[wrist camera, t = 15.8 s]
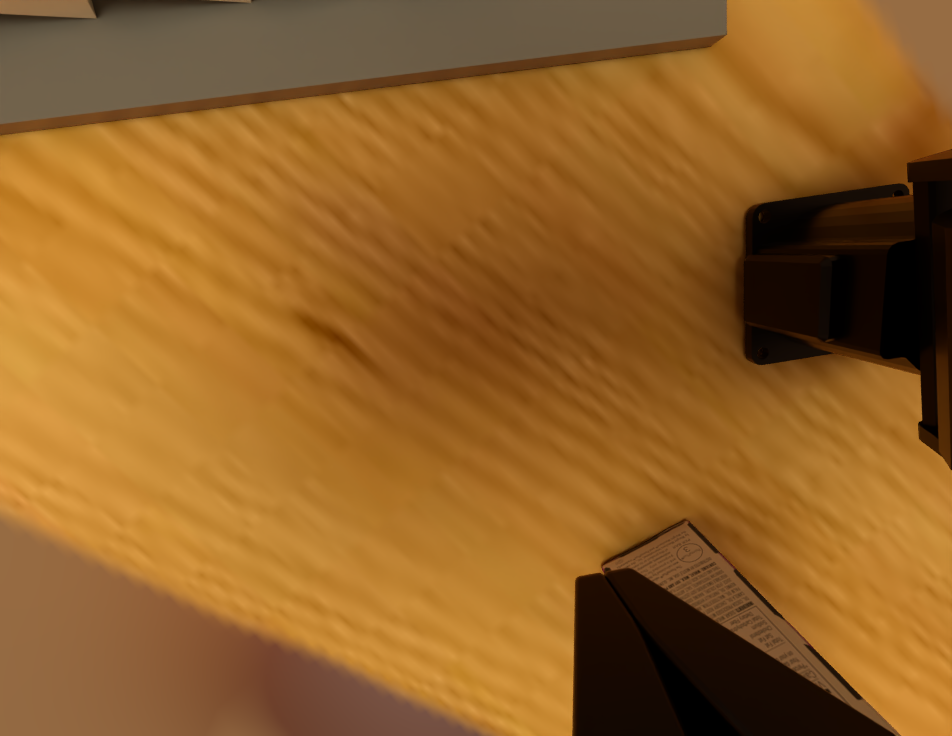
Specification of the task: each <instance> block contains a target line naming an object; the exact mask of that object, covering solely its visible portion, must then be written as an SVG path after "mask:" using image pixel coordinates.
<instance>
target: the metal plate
mask: <svg viewBox="0 0 952 736" xmlns="http://www.w3.org/2000/svg"><path fill="white" fill-rule="evenodd" d="M92 4H93V7H94V11H95V14H96V17H97V19H94V18H74V17H54V16H34V15H14V14H0V135H3V134H11V133H19V132H27V131H35V130H43V129H51V128H59V127H67V126H75V125H83V124H91V123H99V122H107V121H116V120H124V119H132V118H140V117H148V116H156V115H164V114H172V113H180V112H188V111H196V110H204V109H212V108H220V107H228V106H236V105H244V104H252V103H260V102H268V101H276V100H284V99H292V98H300V97H308V96H316V95H324V94H332V93H340V92H348V91H356V90H364V89H372V88H381V87H389V86H397V85H405V84H413V83H421V82H429V81H437V80H445V79H453V78H461V77H469V76H477V75H485V74H493V73H501V72H509V71H517V70H525V69H533V68H541V67H549V66H557V65H565V64H573V63H581V62H589V61H597V60H605V59H613V58H621V57H629V56H638V55H646V54H654V53H662V52H670V51H678V50H686V49H694V48H702V47H710V46H712V45H713V44H714V43H716V42H717V41H719V40H720V39H721V38H723V37H724V36H725V35H727V0H251V3H245V2H229V1H213V0H92Z"/></svg>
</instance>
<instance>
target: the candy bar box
mask: <svg viewBox="0 0 952 736" xmlns="http://www.w3.org/2000/svg"><path fill="white" fill-rule="evenodd" d="M621 568H632V569H634V570H636V571H637V572H639V573H640V574H642V575H644V576H645V577H647V578H648V579H650V580H652V581H653V582H655V583H656V584H658V585H660V586H661V587H663V588H664V589H666V590H667V591H669V592H671V593H672V594H674V595H675V596H677V597H679V598H680V599H682V600H683V601H685V602H686V603H688V604H690V605H691V606H693V607H694V608H696V609H698V610H699V611H701V612H702V613H704V614H705V615H707V616H709V617H710V618H712V619H713V620H715V621H717V622H718V623H720V624H721V625H723V626H724V627H726V628H728V629H729V630H731V631H732V632H734V633H736V634H737V635H739V636H740V637H742V638H744V639H745V640H747V641H748V642H750V643H751V644H753V645H755V646H756V647H758V648H759V649H761V650H763V651H764V652H766V653H767V654H769V655H770V656H772V657H774V658H775V659H777V660H778V661H780V662H782V663H783V664H785V665H786V666H788V667H789V668H791V669H793V670H794V671H796V672H797V673H799V674H801V675H802V676H804V677H805V678H807V679H809V680H810V681H812V682H813V683H815V684H816V685H818V686H820V687H821V688H823V689H824V690H826V691H828V692H829V693H831V694H832V695H834V696H835V697H837V698H839V699H840V700H842V701H843V702H845V703H847V704H848V705H850V706H851V707H853V708H854V709H856V710H858V711H859V712H861V713H862V714H864V715H866V716H867V717H869V718H870V719H872V720H873V721H875V722H877V723H878V724H880V725H881V726H883V727H885V728H886V729H888V730H889V731H891V732H893V733H894V734H895V735H896V736H901V735H900V734H899V733H898V732H897V731H896V730H895V729H894V728H893V727H892V726H891V725H890V724H889V723H888V722H887V721H886V720H885V719H884V718H883V717H882V716H881V715H880V714H879V713H878V712H877V711H876V710H875V709H874V708H873V707H872V706H871V705H870V704H869V703H868V702H867V701H865V700H864V699H863V698H862V697H861V696H860V695H859V694H858V693H857V692H856V691H855V690H854V689H853V688H852V687H851V686H850V685H849V684H848V683H847V682H846V681H845V679H844V678H843V677H842V676H841V675H840V674H839V673H838V672H837V671H836V670H835V669H834V668H833V667H832V666H831V665H830V664H829V663H828V662H827V661H826V660H825V659H824V658H823V657H822V656H821V655H820V654H819V653H818V652H817V651H816V650H815V649H814V648H813V647H812V646H811V645H810V644H809V643H808V642H807V641H806V639H805V638H804V637H802V636H801V635H800V634H799V633H798V632H797V630H796V629H795V628H794V627H793V626H792V625H791V624H790V623H788V622H787V621H786V620H785V619H784V618H783V617H782V615H781V614H780V613H779V612H778V611H777V610H775V609H774V607H773V606H772V605H771V604H770V603H769V602H768V601H767V600H766V599H765V598H764V597H763V596H762V595H761V594H760V593H759V592H758V591H757V590H756V589H755V588H754V587H753V586H752V585H751V584H750V583H749V582H748V581H747V579H746V578H744V577H743V576H742V575H741V574H740V572H739V571H738V570H737V569H736V568H735V567H734V566H733V565H732V564H731V563H730V562H729V561H728V560H727V559H726V558H725V557H724V556H723V555H722V554H721V553H720V552H719V551H718V550H717V549H716V548H715V547H714V546H713V545H712V544H711V543H710V542H709V541H708V540H707V539H706V538H705V537H704V536H703V535H702V534H701V533H700V532H699V531H698V530H697V529H696V528H695V527H694V526H693V525H692V524H691V523H690V522H689V521H684V522H681V523H679V524H677V525H675V526H673V527H671V528H668V529H667V530H665V531H663V532H661V533H660V534H658V535H657V536H655V537H654V538H652V539H650V540H649V541H647V542H645V543H644V544H642V545H640V546H638V547H636V548H634V549H632V550H630V551H628V552H626V553H624V554H622V555H620V556H618V557H617V558H615V559H613V560H612V561H610V562H608V563H606V564H604V565H603V566H602V570H603V572H604V574H605V572H607V571H611V570H616V569H621Z"/></svg>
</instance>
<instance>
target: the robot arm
mask: <svg viewBox="0 0 952 736" xmlns="http://www.w3.org/2000/svg"><path fill="white" fill-rule="evenodd" d="M907 175H908V182H913V195H910V194H909V189H908V187H907V186H906V185H904V184H892V185H885V186H878V187H871V188H864V189H857V190H851V191H844V192H837V193H830V194H823V195H816V196H809V197H802V198H795V199H788V200H781V201H774V202H768V203H761V204H756V205H754V206H752V207H751V208H750V209H749V211H748V212H747V216H746V260H745V262H744V321H745V322H746V340H745V353H746V358H747V359H748V360H749V361H750V362H752V363H755V364H758V365H765V364H771V363H778V362H784V361H790V360H796V359H802V358H808V357H814V356H820V355H826V354H832V353H836V354H840V355H844V356H848V357H851V358H855V359H859V360H863V361H867V362H871V363H875V364H879V365H883V366H886V367H890V368H894V369H898V370H902V371H906V372H910V373H914V374H918V375H921V399H922V421H920V422H919V423H918V431H919V439H920V440H921V441H922V442H923V443H925V444H926V445H927V446H929V447H930V448H931V449H933V450H934V451H935V452H936V453H938V454H939V455H940V456H942V457H943V458H944V460H945V461H946V463H947V464H948V466H949V468H950V469H951V470H952V149H951V150H947V151H944V152H941V153H937V154H934V155H931V156H927V157H924V158H921V159H917V160H914V161H911V162H908V163H907ZM893 193H894V197H892V195H893ZM761 211H762V212H763V213H764V219H763V221H762V222H760V221H759V218H758V217H759V213H760V212H761ZM760 348H762V350H763V351H762V354H761V355H760V356H759V357H758V356H757V353H758V351H759V349H760ZM572 736H896V735H895V734H894V733H893V732H891V731H889V730H888V729H886V728H885V727H883V726H881V725H880V724H878V723H877V722H875V721H873V720H872V719H870V718H869V717H867V716H866V715H864V714H862V713H861V712H859V711H858V710H856V709H854V708H853V707H851V706H850V705H848V704H847V703H845V702H843V701H842V700H840V699H839V698H837V697H835V696H834V695H832V694H831V693H829V692H828V691H826V690H824V689H823V688H821V687H820V686H818V685H816V684H815V683H813V682H812V681H810V680H809V679H807V678H805V677H804V676H802V675H801V674H799V673H797V672H796V671H794V670H793V669H791V668H789V667H788V666H786V665H785V664H783V663H782V662H780V661H778V660H777V659H775V658H774V657H772V656H770V655H769V654H767V653H766V652H764V651H763V650H761V649H759V648H758V647H756V646H755V645H753V644H751V643H750V642H748V641H747V640H745V639H744V638H742V637H740V636H739V635H737V634H736V633H734V632H732V631H731V630H729V629H728V628H726V627H724V626H723V625H721V624H720V623H718V622H717V621H715V620H713V619H712V618H710V617H709V616H707V615H705V614H704V613H702V612H701V611H699V610H698V609H696V608H694V607H693V606H691V605H690V604H688V603H686V602H685V601H683V600H682V599H680V598H679V597H677V596H675V595H674V594H672V593H671V592H669V591H667V590H666V589H664V588H663V587H661V586H660V585H658V584H656V583H655V582H653V581H652V580H650V579H648V578H647V577H645V576H644V575H642V574H640V573H639V572H637V571H636V570H634V569H632V568H621V569H616V570H611V571H607V572H605V574H604V575H603V574H601V573H595V574H589V575H584V576H579V577H577V578H576V580H575V620H574V675H573V730H572Z"/></svg>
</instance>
